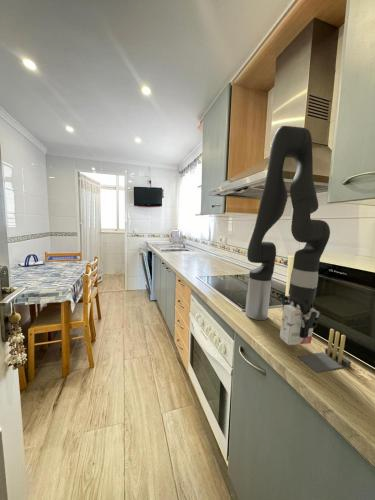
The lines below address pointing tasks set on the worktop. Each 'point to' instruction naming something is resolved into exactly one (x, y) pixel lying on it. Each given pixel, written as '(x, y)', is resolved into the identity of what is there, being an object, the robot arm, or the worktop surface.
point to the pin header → (333, 353)
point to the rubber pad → (320, 362)
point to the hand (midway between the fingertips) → (296, 332)
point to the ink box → (293, 326)
